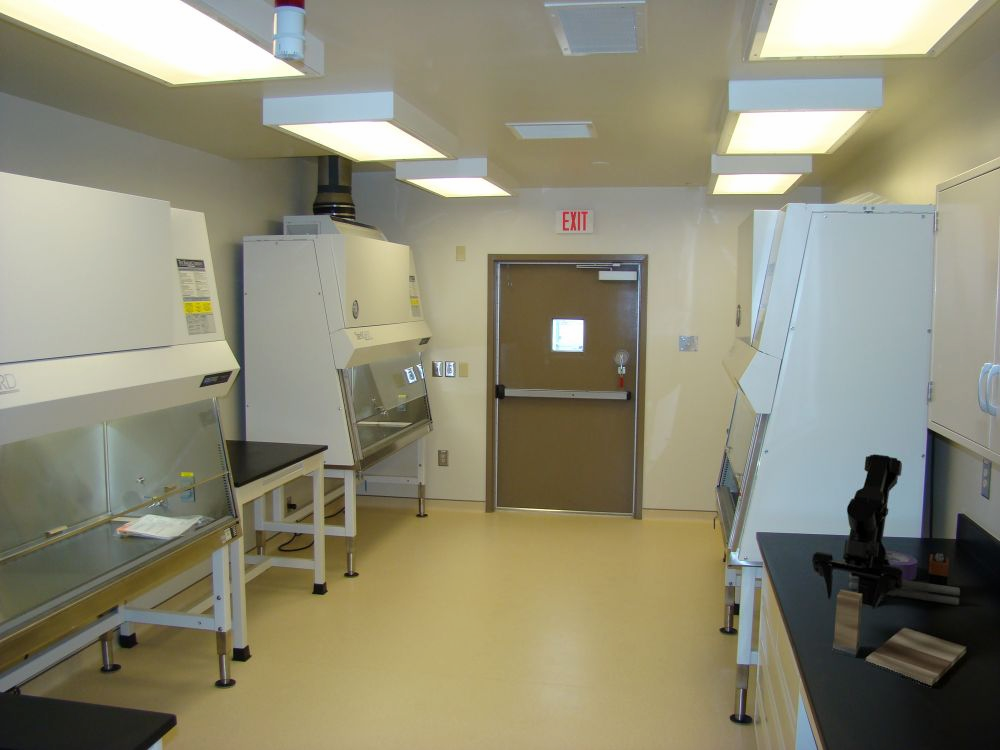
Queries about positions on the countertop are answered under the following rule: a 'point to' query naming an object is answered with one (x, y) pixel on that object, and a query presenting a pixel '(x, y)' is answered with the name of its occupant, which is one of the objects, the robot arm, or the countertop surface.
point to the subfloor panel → (917, 655)
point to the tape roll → (903, 563)
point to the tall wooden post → (848, 621)
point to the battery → (938, 570)
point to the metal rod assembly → (921, 594)
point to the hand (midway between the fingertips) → (850, 603)
